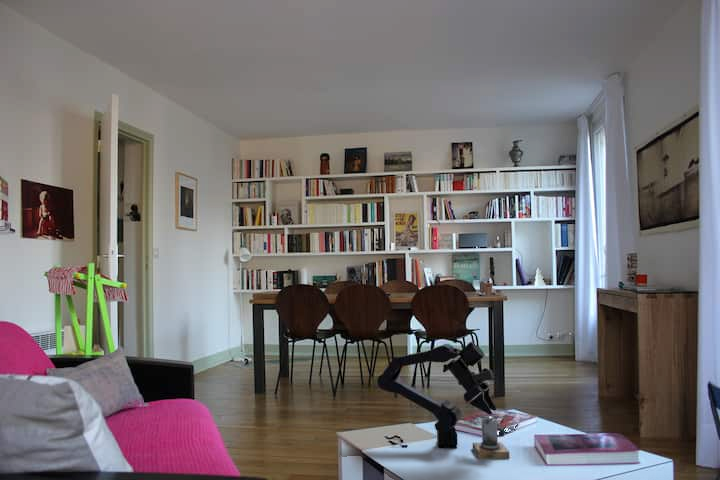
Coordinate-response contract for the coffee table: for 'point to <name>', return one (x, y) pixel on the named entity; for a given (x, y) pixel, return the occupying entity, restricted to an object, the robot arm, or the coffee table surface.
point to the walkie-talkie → (503, 426)
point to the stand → (490, 451)
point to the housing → (489, 433)
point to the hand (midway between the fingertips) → (493, 412)
